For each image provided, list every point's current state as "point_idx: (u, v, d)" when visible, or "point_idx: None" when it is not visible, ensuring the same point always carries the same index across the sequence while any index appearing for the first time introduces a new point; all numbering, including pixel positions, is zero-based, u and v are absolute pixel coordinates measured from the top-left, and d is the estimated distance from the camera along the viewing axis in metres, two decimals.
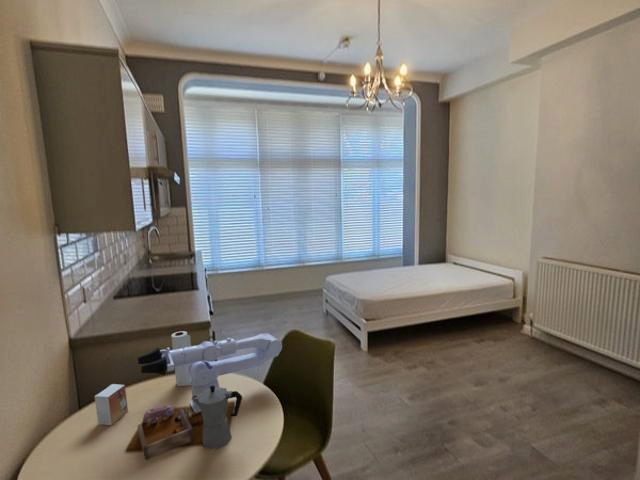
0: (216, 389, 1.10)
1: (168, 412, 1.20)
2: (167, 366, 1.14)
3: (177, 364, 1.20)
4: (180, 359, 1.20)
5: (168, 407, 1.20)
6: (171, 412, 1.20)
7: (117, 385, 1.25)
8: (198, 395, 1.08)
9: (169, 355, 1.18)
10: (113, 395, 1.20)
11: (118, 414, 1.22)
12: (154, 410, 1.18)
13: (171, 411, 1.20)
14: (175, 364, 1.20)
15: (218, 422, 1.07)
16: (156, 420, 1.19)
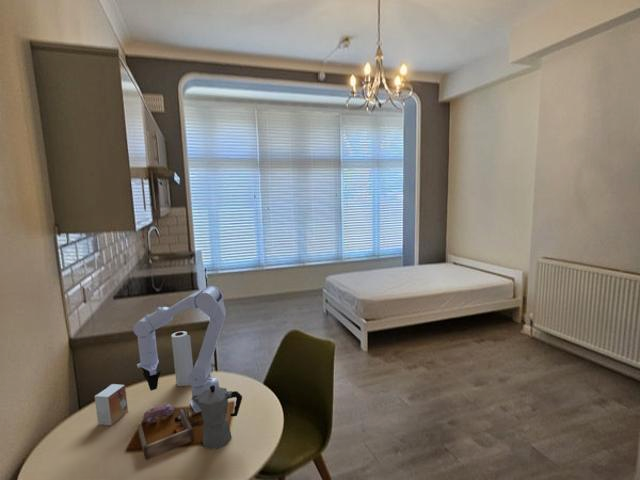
0: (216, 389, 1.10)
1: (168, 411, 1.20)
2: (151, 374, 1.21)
3: (154, 357, 1.25)
4: (149, 356, 1.24)
5: (168, 406, 1.20)
6: (171, 411, 1.21)
7: (117, 385, 1.25)
8: (198, 395, 1.08)
9: (143, 367, 1.23)
10: (113, 395, 1.20)
11: (118, 414, 1.22)
12: (154, 409, 1.18)
13: (171, 410, 1.20)
14: (154, 359, 1.25)
15: (218, 422, 1.07)
16: (156, 419, 1.20)
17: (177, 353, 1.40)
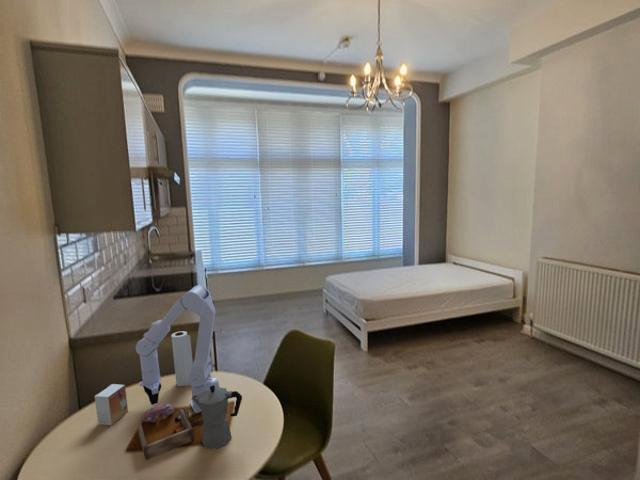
0: (216, 389, 1.10)
1: (168, 411, 1.20)
2: None
3: (156, 375, 1.26)
4: (151, 375, 1.25)
5: (168, 406, 1.21)
6: (171, 411, 1.21)
7: (117, 385, 1.25)
8: (198, 395, 1.08)
9: (145, 386, 1.24)
10: (113, 395, 1.20)
11: (118, 414, 1.22)
12: (154, 409, 1.18)
13: (171, 410, 1.21)
14: (156, 377, 1.26)
15: (218, 422, 1.07)
16: (156, 419, 1.20)
17: (177, 353, 1.40)
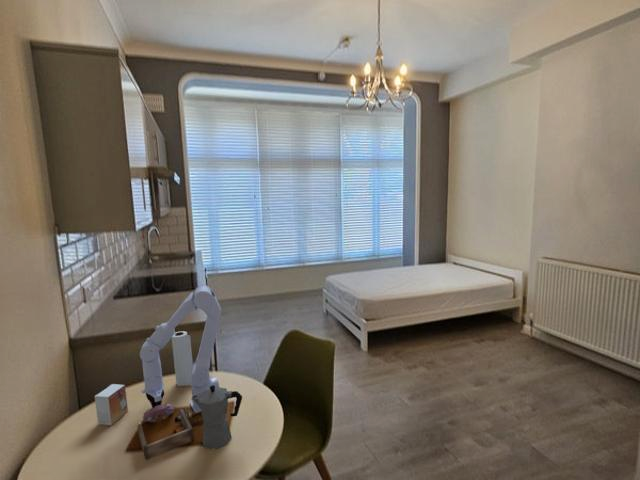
0: (216, 389, 1.10)
1: (168, 411, 1.20)
2: None
3: (159, 382, 1.22)
4: (154, 381, 1.20)
5: (168, 406, 1.21)
6: (171, 411, 1.21)
7: (117, 385, 1.25)
8: (198, 395, 1.08)
9: (148, 393, 1.20)
10: (113, 395, 1.20)
11: (118, 414, 1.22)
12: (154, 409, 1.18)
13: (171, 410, 1.21)
14: (158, 384, 1.21)
15: (218, 422, 1.07)
16: (156, 419, 1.20)
17: (177, 353, 1.40)
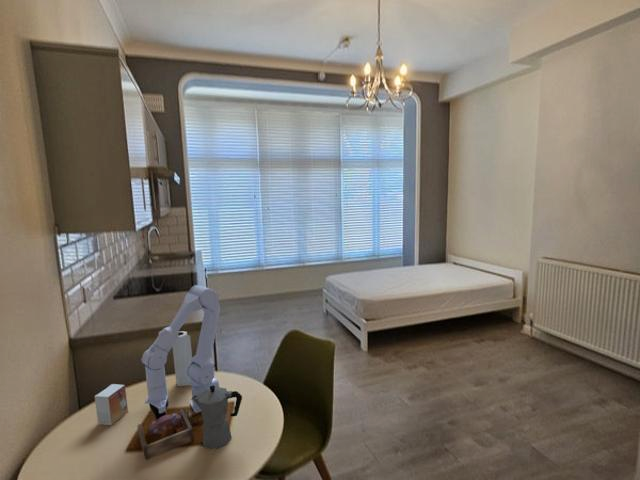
0: (216, 389, 1.10)
1: (175, 420, 1.15)
2: None
3: (163, 392, 1.15)
4: (158, 391, 1.14)
5: (174, 415, 1.15)
6: (178, 420, 1.16)
7: (117, 385, 1.25)
8: (198, 395, 1.08)
9: (151, 403, 1.13)
10: (113, 395, 1.20)
11: (118, 414, 1.22)
12: (160, 420, 1.12)
13: (178, 419, 1.15)
14: (163, 394, 1.15)
15: (218, 422, 1.07)
16: (162, 430, 1.14)
17: (177, 353, 1.40)
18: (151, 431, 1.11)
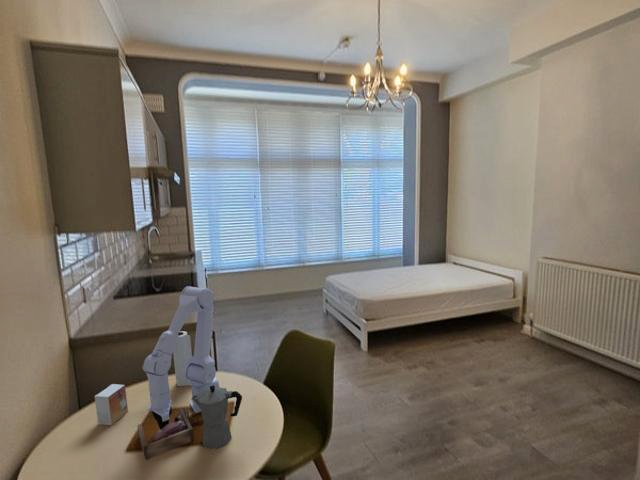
0: (216, 389, 1.10)
1: (181, 428, 1.11)
2: None
3: (166, 399, 1.11)
4: (161, 398, 1.10)
5: (180, 422, 1.12)
6: (183, 427, 1.12)
7: (118, 385, 1.25)
8: (198, 395, 1.08)
9: (154, 411, 1.09)
10: (113, 395, 1.20)
11: (118, 414, 1.22)
12: (166, 428, 1.08)
13: (184, 426, 1.12)
14: (166, 401, 1.11)
15: (218, 422, 1.07)
16: None
17: (177, 353, 1.40)
18: (157, 440, 1.06)
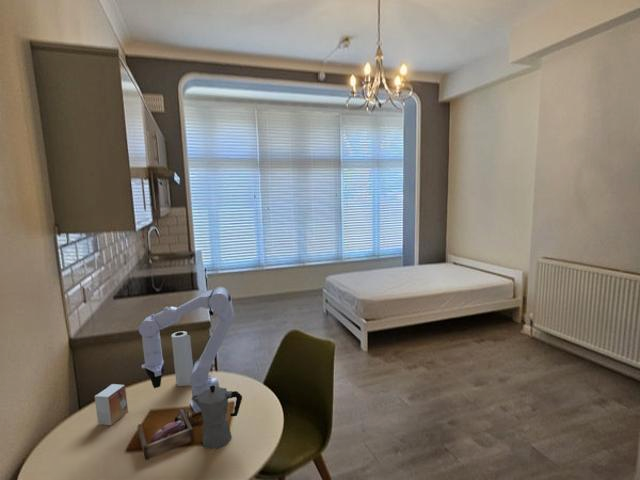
0: (216, 389, 1.10)
1: (180, 427, 1.11)
2: (156, 375, 1.18)
3: (159, 358, 1.22)
4: (154, 357, 1.21)
5: (180, 422, 1.12)
6: (183, 427, 1.12)
7: (117, 385, 1.25)
8: (198, 395, 1.08)
9: (148, 368, 1.21)
10: (113, 395, 1.20)
11: (118, 414, 1.22)
12: (166, 428, 1.08)
13: (183, 426, 1.12)
14: (158, 360, 1.22)
15: (218, 422, 1.07)
16: None
17: (177, 353, 1.40)
18: (157, 440, 1.07)
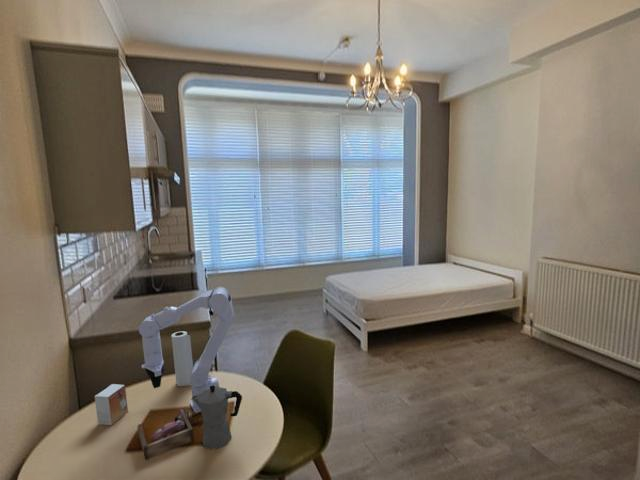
0: (216, 389, 1.10)
1: (180, 427, 1.11)
2: (156, 375, 1.18)
3: (159, 358, 1.22)
4: (154, 357, 1.21)
5: (179, 422, 1.12)
6: (183, 427, 1.12)
7: (117, 385, 1.25)
8: (198, 395, 1.08)
9: (148, 368, 1.21)
10: (113, 395, 1.20)
11: (118, 414, 1.22)
12: (166, 427, 1.09)
13: (183, 425, 1.12)
14: (158, 360, 1.22)
15: (218, 422, 1.07)
16: None
17: (177, 353, 1.40)
18: (156, 440, 1.07)
